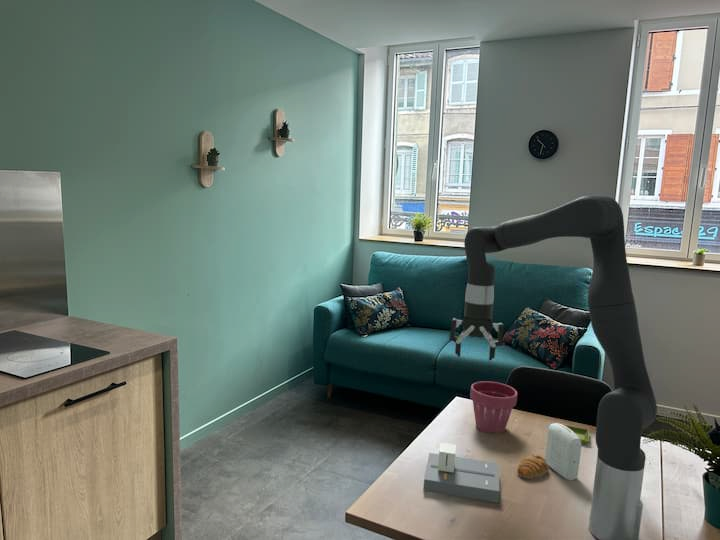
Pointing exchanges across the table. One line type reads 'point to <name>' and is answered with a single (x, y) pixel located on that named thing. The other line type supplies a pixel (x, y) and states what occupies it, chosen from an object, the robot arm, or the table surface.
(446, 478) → the console
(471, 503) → the table surface
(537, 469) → the pastry
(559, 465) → the photo printer
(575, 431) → the saucer
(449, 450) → the fader tab
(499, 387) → the plant pot
